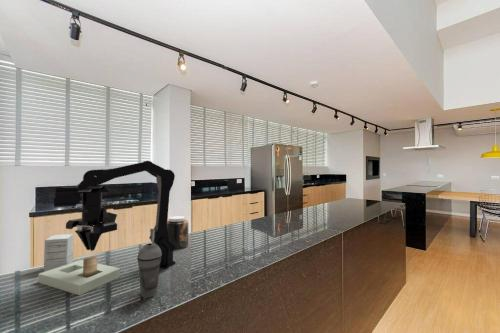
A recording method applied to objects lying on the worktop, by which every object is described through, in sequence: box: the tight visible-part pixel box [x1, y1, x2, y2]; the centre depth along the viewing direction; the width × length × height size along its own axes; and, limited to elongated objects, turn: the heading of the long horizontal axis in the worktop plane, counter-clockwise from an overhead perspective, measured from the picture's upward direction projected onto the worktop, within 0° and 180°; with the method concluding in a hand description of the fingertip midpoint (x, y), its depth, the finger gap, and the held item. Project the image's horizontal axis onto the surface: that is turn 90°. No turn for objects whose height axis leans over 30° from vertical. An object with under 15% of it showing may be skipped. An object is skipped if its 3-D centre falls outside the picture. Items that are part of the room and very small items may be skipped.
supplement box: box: [43, 233, 75, 272], centre depth 91 cm, size 7×7×13 cm
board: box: [37, 259, 121, 296], centre depth 81 cm, size 22×14×3 cm, turn 68°
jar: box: [167, 215, 189, 251], centre depth 120 cm, size 12×12×15 cm
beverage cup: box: [136, 230, 162, 298], centre depth 72 cm, size 7×7×20 cm
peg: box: [82, 256, 98, 278], centre depth 80 cm, size 4×4×8 cm
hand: (90, 250), depth 80 cm, fingers closed
